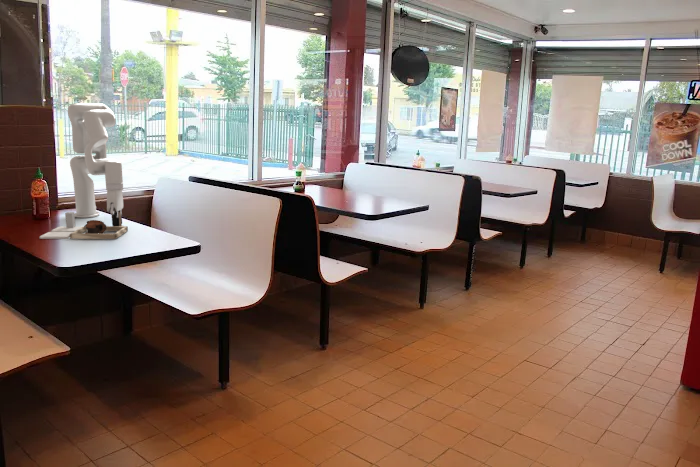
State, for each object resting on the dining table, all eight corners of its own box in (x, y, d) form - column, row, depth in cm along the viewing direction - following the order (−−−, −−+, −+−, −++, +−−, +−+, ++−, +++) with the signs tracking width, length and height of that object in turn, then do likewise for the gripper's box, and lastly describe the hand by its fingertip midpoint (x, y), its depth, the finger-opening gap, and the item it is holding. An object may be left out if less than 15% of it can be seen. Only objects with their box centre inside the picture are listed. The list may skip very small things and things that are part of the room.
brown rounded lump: (78, 238, 268) (80, 221, 270) (94, 243, 276) (96, 226, 278) (98, 234, 263) (100, 216, 266) (114, 239, 272) (115, 222, 274)
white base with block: (59, 228, 284) (58, 212, 282) (85, 228, 285) (83, 212, 283) (39, 238, 263) (37, 221, 262) (67, 238, 264) (65, 221, 262)
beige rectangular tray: (89, 227, 286) (88, 211, 284) (131, 227, 287) (130, 211, 285) (69, 238, 263) (68, 220, 261) (116, 238, 264) (114, 221, 263)
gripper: (112, 184, 288) (114, 221, 292) (100, 189, 272) (103, 228, 276) (128, 184, 288) (130, 221, 292) (117, 189, 272) (119, 228, 276)
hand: (117, 224), depth 284 cm, fingers closed on beige rectangular tray, 3 cm apart
